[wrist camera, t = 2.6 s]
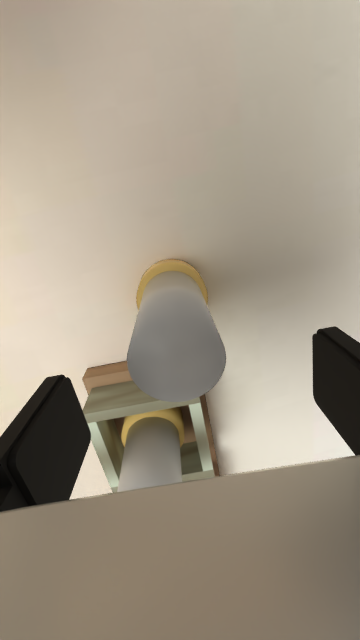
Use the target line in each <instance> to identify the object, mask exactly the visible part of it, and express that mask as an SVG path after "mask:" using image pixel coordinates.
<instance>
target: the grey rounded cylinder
mask: <svg viewBox="0 0 360 640" xmlns="http://www.w3.org/2000/svg"><path fill="white" fill-rule="evenodd" d="M136 299H137V307H138V310H139V311H138V315H137V319H136V323H135V326H134V330H133V334H132V338H131V342H130V345H129V349H128V353H127V366H128V371H129V373H130V376H131V378H132V380H133V381H134V383H135V384H136V385H137V386H138V387H139V388H140V389H141V390H142V391H143V392H145V393H146V394H148V395H149V396H151V397H153V398H156V399H159V400H162V401H167V402H183V401H188V400H192V399H195V398H197V397H200V396H202V395H203V394H205V393H207V392H208V391H209V390H210V389H212V388H213V387H214V386H215V385H216V383H217V382H218V381H219V379H220V377H221V376H222V374H223V371H224V368H225V363H226V352H225V348H224V345H223V342H222V340H221V338H220V335H219V333H218V330H217V328H216V326H215V323H214V321H213V319H212V316H211V314H210V311H209V309H208V307H207V303H208V294H207V289H206V287H205V284H204V282H203V280H202V278H201V276H200V274H199V273H198V272H197V270H196V269H195V268H194V267H192V266H191V265H190V264H188V263H186V262H184V261H181V260H176V259H167V260H162V261H159V262H157V263H155V264H154V265H152V266H151V267H150V268H149V269H148V270H147V271H146V272H145V273H144V275H143V277H142V279H141V282H140V284H139V287H138V291H137V298H136Z"/></svg>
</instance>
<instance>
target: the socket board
mask: <svg viewBox="0 0 360 640" xmlns="http://www.w3.org/2000/svg"><path fill="white" fill-rule="evenodd" d="M82 380H83V382H84V385H85V387H86V390H87V393H88V395H89V396H88V399H87V401H86V404H85V406H84V408H83V413H84V416H85V419H86V421H87V424H88V426H89V429H90V432H91V441H92V443H93V446H94V448H95V450H96V453H97V455H98V458H99V460H100V463H101V465H102V467H103V470H104V472H105V475H106V477H107V480H108V482H109V484H110V487H111V489H112V492H113V493H114V492H117V490H118V484H119V478H120V472H121V466H122V460H123V454H124V448H125V447H124V445H123V443H122V439H121V435H122V429H123V424H124V419H125V416H131V415H136V414H142V413H147V412H153V411H158V410H163V409H169V408H174V407H180V409H181V411H182V414H183V424H184V442H183V444H182V446H181V448H180V456H181V473H182V482H184V481H190V480H196V479H203V478H209V477H216V476H220V475H219V469H218V464H217V458H216V453H215V448H214V442H213V437H212V431H211V426H210V420H209V415H208V410H207V404H206V399H205V394H203V395H202V396H200V397H197V398H195V399H192V400H188V401H183V402H167V401H162V400H159V399H156V398H153V397H151V396H149V395H148V394H146V393H145V392H143V391H142V390H141V389H140V388H139V387H138V386H137V385H136V384H135V383H134V381H133V380H132V378H131V376H130V373H129V371H128V366H127V361H124V362H119V363H114V364H108V365H103V366H98V367H92V368H87V370H86V372H85V374H84V377H83V379H82Z"/></svg>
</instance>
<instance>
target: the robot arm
mask: <svg viewBox="0 0 360 640" xmlns="http://www.w3.org/2000/svg"><path fill="white" fill-rule="evenodd" d="M313 396H314V399H315V402H316V404H317V405H318V406H319V408H320V409H321V410H322V412H323V413H324V414H325V416H326V417H327V418H328V420H329V421H330V422H331V423H332V425H333V426H334V427H335V429H336V430H337V431H338V433H339V434H340V435H341V437H342V438H343V439H344V441H345V442H346V443H347V445H348V446H349V447H350V449H351V450H352V451H353V453H354V454H355V455H356V456H349V457H342V458H335V459H328V460H322V461H315V462H308V463H301V464H295V465H288V466H281V467H275V468H268V469H261V470H255V471H248V472H242V473H235V474H229V475H222V476H216V477H209V478H203V479H196V480H190V481H184V482H177V483H171V484H164V485H158V486H152V487H145V488H139V489H133V490H127V491H121V492H114V493H108V494H102V495H96V496H90V497H84V498H77V499H71V500H69V498H70V496H71V493H72V490H73V487H74V485H75V482H76V479H77V476H78V474H79V471H80V468H81V465H82V463H83V460H84V457H85V454H86V452H87V449H88V446H89V444H90V440H91V432H90V429H89V426H88V424H87V421H86V419H85V416H84V413H83V411H82V408H81V406H80V403H79V401H78V398H77V395H76V393H75V390H74V388H73V385H72V383H71V380H70V379H69V378H68V377H67V378H66V377H65V376H64V375H57V376H52V377H47V378H46V379H45V380H44V381H43V383H42V384H41V385H40V386H39V388H38V389H37V390H36V392H35V393H34V394H33V396H32V397H31V398H30V399H29V401H28V402H27V403H26V405H25V406H24V407H23V408H22V410H21V411H20V412H19V414H18V415H17V416H16V417H15V419H14V420H13V421H12V423H11V424H10V425H9V426H8V428H7V429H6V430H5V432H4V433H3V434H2V436H1V437H0V640H360V343H359V342H357V341H356V340H354V339H353V338H352V337H350V336H349V335H347V334H346V333H344V332H343V331H341V330H340V329H339V328H337V327H329V328H323V329H319V330H318V331H317V334H314V335H313Z"/></svg>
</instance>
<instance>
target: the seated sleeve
mask: <svg viewBox="0 0 360 640" xmlns="http://www.w3.org/2000/svg"><path fill="white" fill-rule="evenodd" d="M121 439H122V443H123V445H124V447H125V448H124V454H123V460H122V466H121V472H120V478H119V484H118V490H117V492H121V491H127V490H133V489H139V488H145V487H152V486H158V485H164V484H171V483H177V482H182V473H181V456H180V448H181V446H182V444H183V442H184V424H183V414H182V411H181V409H180V407H174V408H169V409H163V410H158V411H153V412H147V413H142V414H136V415H131V416H125V419H124V424H123V429H122V435H121Z"/></svg>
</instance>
